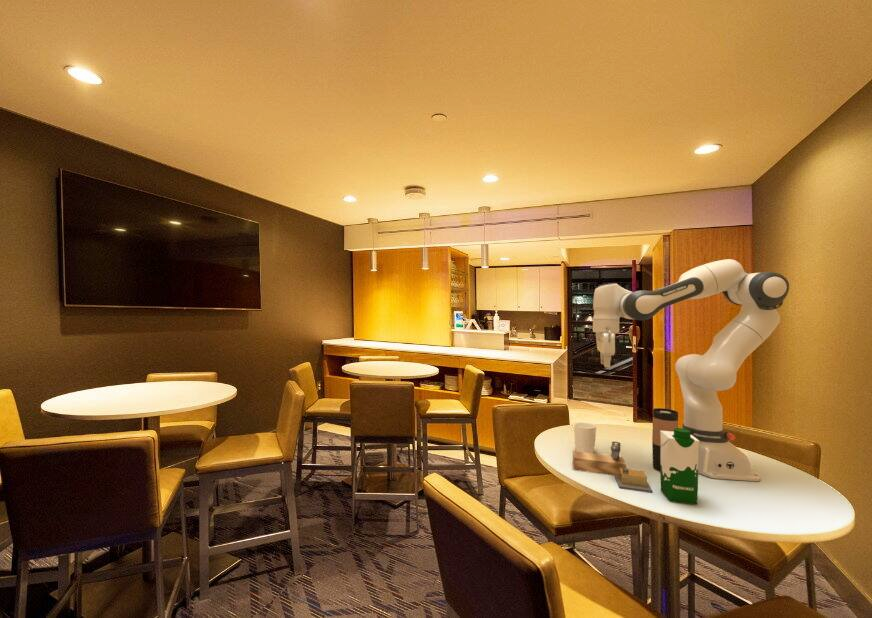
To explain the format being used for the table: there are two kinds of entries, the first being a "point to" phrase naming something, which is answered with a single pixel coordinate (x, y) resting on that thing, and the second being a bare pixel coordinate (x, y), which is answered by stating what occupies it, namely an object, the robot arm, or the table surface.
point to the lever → (615, 449)
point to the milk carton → (679, 466)
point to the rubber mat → (631, 487)
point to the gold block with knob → (632, 477)
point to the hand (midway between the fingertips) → (605, 365)
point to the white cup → (584, 437)
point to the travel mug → (661, 422)
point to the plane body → (597, 463)
